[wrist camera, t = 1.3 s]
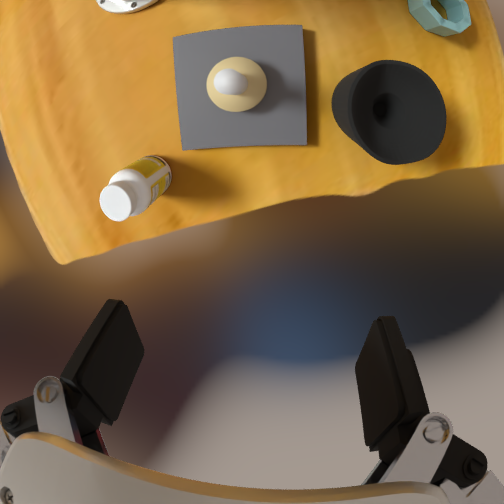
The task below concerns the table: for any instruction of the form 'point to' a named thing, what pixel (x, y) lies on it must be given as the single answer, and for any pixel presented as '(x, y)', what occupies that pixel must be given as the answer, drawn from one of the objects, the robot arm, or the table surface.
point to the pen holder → (391, 111)
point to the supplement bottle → (135, 188)
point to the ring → (434, 21)
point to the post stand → (241, 87)
